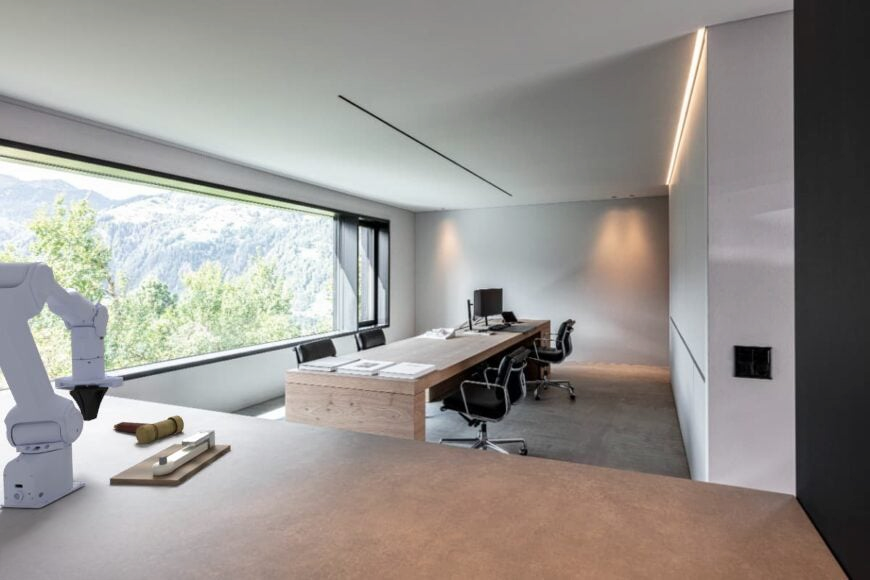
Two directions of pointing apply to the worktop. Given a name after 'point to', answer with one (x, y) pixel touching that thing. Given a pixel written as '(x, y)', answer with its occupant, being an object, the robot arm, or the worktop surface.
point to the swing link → (178, 458)
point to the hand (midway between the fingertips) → (90, 419)
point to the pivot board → (144, 472)
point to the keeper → (201, 438)
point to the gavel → (152, 429)
